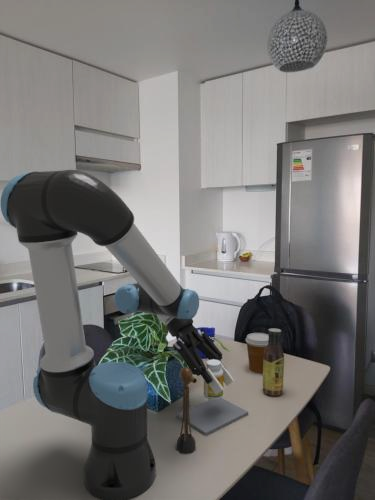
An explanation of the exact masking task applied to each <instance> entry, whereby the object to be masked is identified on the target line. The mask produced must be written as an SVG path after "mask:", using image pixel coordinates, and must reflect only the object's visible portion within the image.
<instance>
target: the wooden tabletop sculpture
mask: <svg viewBox="0 0 375 500" xmlns="http://www.w3.org/2000/svg"><path fill="white" fill-rule="evenodd" d="M193 375H194V374H193V373H192V371H191V370H190V369H189V367H188V366H183V367H181V369H180V371H179V378H180V380H181V382H182V384H184V386H182V411H183V418H182V420H181V428H180V433H179V435H178V437H177V439H176V443H175V445H176V446H175V450H176V451H177V452H178V453H179V454H184V455H187V454H192V453H194V452H195V451H196V439H195V437H194V436H193V434H192V428H191V426H190V415H189V408H190V386H189V384H191V383H193V384H196V383H197V382H198V381H197V378H195V377H194V376H193ZM188 422H189V425H188ZM183 430H184V432H183Z"/></svg>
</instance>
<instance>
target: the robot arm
mask: <svg viewBox="0 0 375 500" xmlns="http://www.w3.org/2000/svg"><path fill="white" fill-rule="evenodd" d="M0 211H1V214H2V216H3V219H5V220H4V221H6V222H7V223H9V225H10V226H11V227H13V228H15V229H16V233H17V239H18V243H19V244H20V245H22V246H23V247H24V248H26V249H27V250H28V255H29V256H28V257H29V261H30V266H31V267H30V268H31V273H32V280H33V285H34V292H35V297H36V303H37V310H38V314H39V322H40V326H41V328H40V329H41V332H42V333H41V334H42V339H43V346H44V351H45V354H44V355H43V357H41V359H40V361H39V366H38V368H37V369H36V376H34V377H33V382H32V384H33V385H32V386H33V387H32V388H33V393H34V397H35V398H36V401H37V402H38V403H39V404H40V405H41V406H42V407H44V408H46V409H47V410H49V411H50V412H52V413H56V414H59V415H62V416H65V417H68V418H71V419H73V420H77V421H79V422H82V423H83V424H87V425H89V426H91V427H90V429H91V446H90V447H89V448H90V449H89V452H88V455H87V457H86V462H85V465H84V469H83V483H84V486H85V488H86V490H87V492H88V493H90V495H92V496H94V497H95V498H98V499H101V500H129V499H132V498H135V497H136V496H138V495H141V494H143V493H144V492H145V491H147V490H148V489H149V488H150V487H151V486H152V484H153V482H154V481H155V478H156V476H157V475H156V474H157V473H156V472H157V471H156V469H157V466H156V464H157V463H156V460H155V456H154V452H153V450H152V447H151V445H150V442H149V439H148V394H149V392H148V388H147V378H146V375H145V374H144V372H143V371H142V370H141V369H140V368H139V367H137V366H135V365H134V364H131V363H130V362H129V363H128V362H123V361H118V362H115V361H107V362H101V363H99V364H97V365H96V359H95V352H94V350H93V349H92V348H91V346H89V345H87V344H86V339H85V332H84V325H83V316H82V308H81V303H80V295H79V288H78V281H77V274H76V267H75V266H76V265H75V261H74V253H73V246H72V243H73V242H74V241H75V239H76V238H77V237H78V233H80V234H83V235H85V236H87V237H89V238H90V240H92V241H93V243H94V244H96V245H97V246H100V247H105V248H106V249H107V250H108V251H109V253H111V255H112V256H113V257H114V258H115V260H117V262H118V263H119V264H120V265H121V266H122V267H123V269H125V270H126V271H127V273H128V274H129V275H130V276H131V277H132V278H133V280H135V282H136V283H135V282H134V283H128V284H124V285H122V286H120V287H119V288H117V290H116V292H115V294H114V303H115V306H116V308H117V310H118V311H119V312H121V313H123V314H134V313H137V312H139V313H145V314H151V315H157V317H158V318H159V320H160V321H161V322H162V324H163V325H164V326H165V328H166V330H167V332H169V334H170V336H171V337H173V338H174V337H175V338H176V342H174V343H173V344H172V348H173V349H174V350H176V351H177V352H178V354H179V355H180V357H181V358H182V359H183V361H184V363H185V364H186V365H187V366H186V367H188V368H189V369H190V370H191V371H192V374H193V375H194V376H195V375H196V376H197V377H200V376H201V377H202V379H203V381H204V380H205V382H206V383H207V384H209V386H210V387H211V389H212V390H213V391H214V393H215V394H216V395H217V394H218V393H219V392H221V391H222V390H223V391H224V386H223V387H222V386H221V384H220V383H219V381H218V380H217V379H216V377H215V376H214V375H213V373H212V372H211V370H210V369H209V368H208V369H207V370H206V368H207V366H206V365H205V363H204V361H203V358H202V357H200V354H199V352H198V350H197V349H199V350H200V351H201V352H202V353H203V354H204V355H205V356H206V359H207V360H212V359H215V360H219V361H221V369H222V370H223V384H225V386H226V387H228V386H229V385H231V384H232V383H233V382H234V381H235V379H234V378H233V377H232V375H231V373H230V372H229V371H228V369H227V367H226V366H225V365H224V363H223V362H222V359H223V353H222V352H221V351H220V350H219V348H218V346H217V345H216V344H215V342H214V343H213V342H212V340H211V339H210V338H209V336H208V335H207V333H206V331H205V329H204V328H202V329H201V330H197V329H196V328H197V327H195V326H194V325H193V324H194V320H193V318H195V317H196V315H197V314H198V311H199V308H200V297H199V294H198V293H197V291H195V290H192V289H189V288H183V286H181V284H180V282H178V280H177V279H176V277H175V276H174V275H173V273H172V272H171V271H170V269H169V268H168V267H167V265H166V264H165V263H164V261H163V260H162V259H161V258H160V256H159V254H157V252H156V251H155V249H154V248H153V247H152V245H151V244H150V243H149V242H148V240H147V238H145V236H144V235H143V233H142V232H141V231H140V229H139V228H138V226H136V224H135V216H134V214H133V212H132V211H131V209H130V208H129V206H128V205H127V204H126V203H125V202H124V200H123V199H122V198H121V197H120V196H119V195H118V194H117V192H115V191H114V190H113V189H112V188H110V187H109V186H108V185H107V184H106V183H105V182H103V181H102V180H101V179H98V178H97V177H95V176H94V175H93V174H90V173H88V172H86V171H81V170H77V169H62V170H49V171H48V170H46V171H45V170H44V171H35V170H34V171H30V172H26V173H21V174H18V175H16V176H14V177H13V178H11V179H10V180H9V181H8V182H7V184H6V186H4V188H3V190H2V193H1V196H0Z"/></svg>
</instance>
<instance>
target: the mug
mask: <svg viewBox="0 0 375 500" xmlns="http://www.w3.org/2000/svg"><path fill="white" fill-rule="evenodd" d="M195 328H196V329H197V330H201V329H202V328H204V329H205V331H206V333H207V335H208V336H210V337H214V338H215V337H216V336H215V335H216V327H207V326H206V327H203V326H199V327H195ZM211 340H212V339H211ZM212 342H213V343H214V344H215V339H214V340H212ZM197 350H198V352H199V354H200V357H201V359H203V358H205V359H207V357H206V356H205V355H204V354H203V353H202V352H201V351H200V350H199V349H197Z"/></svg>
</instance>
